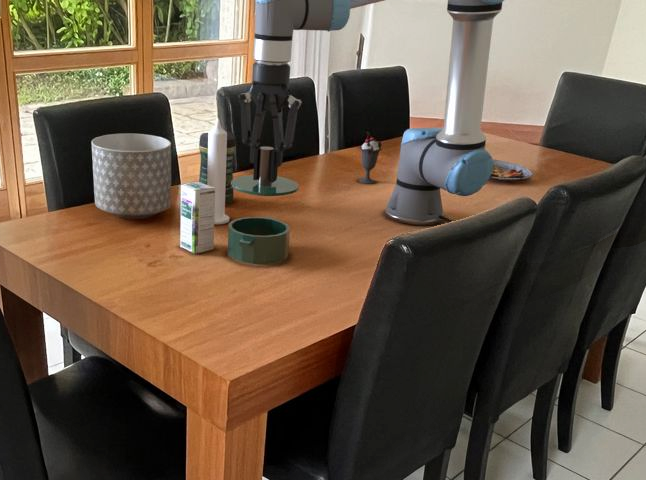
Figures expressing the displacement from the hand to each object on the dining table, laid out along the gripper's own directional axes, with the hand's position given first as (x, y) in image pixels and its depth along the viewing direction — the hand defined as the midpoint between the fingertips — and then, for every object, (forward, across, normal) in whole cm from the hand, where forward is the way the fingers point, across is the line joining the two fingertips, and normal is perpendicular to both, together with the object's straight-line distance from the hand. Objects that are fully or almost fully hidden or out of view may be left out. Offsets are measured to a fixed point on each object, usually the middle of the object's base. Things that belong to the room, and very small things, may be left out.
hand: (265, 179), depth 160 cm
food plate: (+17, -45, -106) cm, 116 cm away
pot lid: (+1, 0, 0) cm, 1 cm away
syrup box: (+18, +15, +2) cm, 23 cm away
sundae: (+17, -8, -76) cm, 79 cm away
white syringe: (+18, +19, -19) cm, 32 cm away
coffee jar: (+18, +25, -34) cm, 46 cm away
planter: (+18, +39, -13) cm, 45 cm away
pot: (+17, +1, 0) cm, 17 cm away
